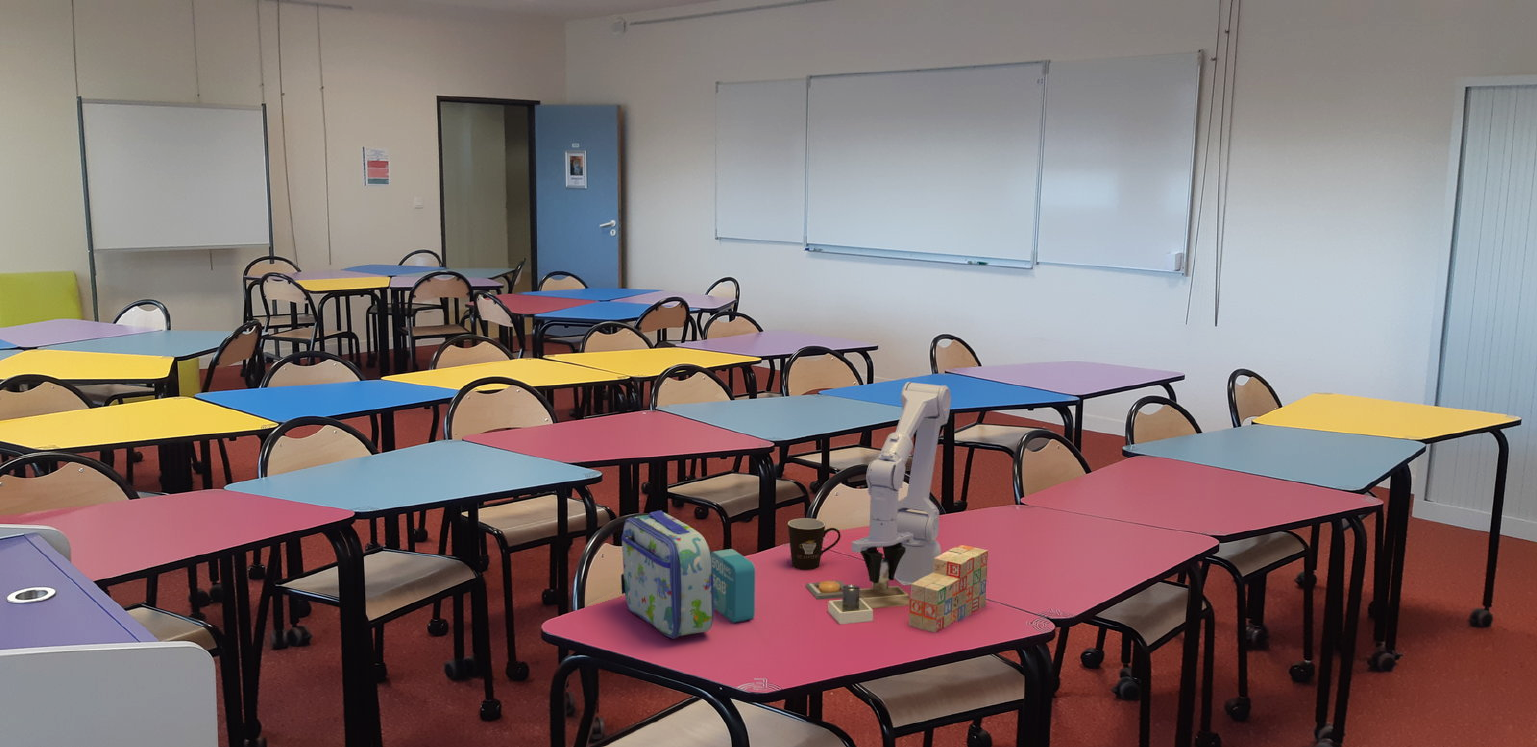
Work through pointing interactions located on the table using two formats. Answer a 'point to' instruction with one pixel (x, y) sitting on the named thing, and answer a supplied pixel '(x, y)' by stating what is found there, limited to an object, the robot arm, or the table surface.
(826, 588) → the button
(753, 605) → the data package
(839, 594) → the grey square frame
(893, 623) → the table surface
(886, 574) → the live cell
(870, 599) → the trough
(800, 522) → the coffee mug
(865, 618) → the white square tray
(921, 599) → the stack of blocks
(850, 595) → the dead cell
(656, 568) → the lunch box
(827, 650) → the table surface
